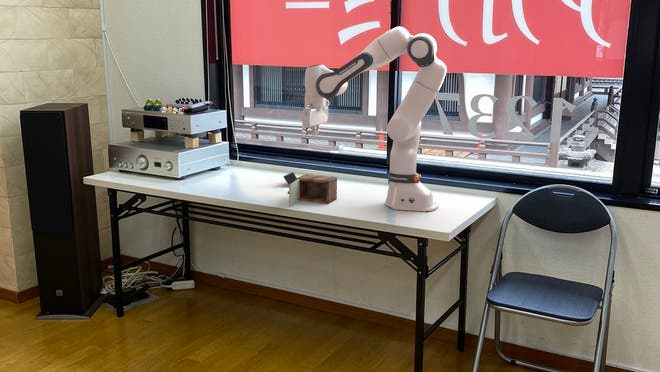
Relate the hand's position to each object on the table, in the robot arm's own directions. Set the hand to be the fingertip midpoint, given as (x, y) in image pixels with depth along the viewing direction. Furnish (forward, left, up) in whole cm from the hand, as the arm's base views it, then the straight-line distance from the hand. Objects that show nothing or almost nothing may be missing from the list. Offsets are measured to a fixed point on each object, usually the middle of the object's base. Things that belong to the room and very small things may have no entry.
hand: (315, 135), depth 275 cm
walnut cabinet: (-2, +2, -28) cm, 28 cm away
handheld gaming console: (+19, -20, -29) cm, 40 cm away
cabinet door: (+4, +13, -27) cm, 31 cm away
